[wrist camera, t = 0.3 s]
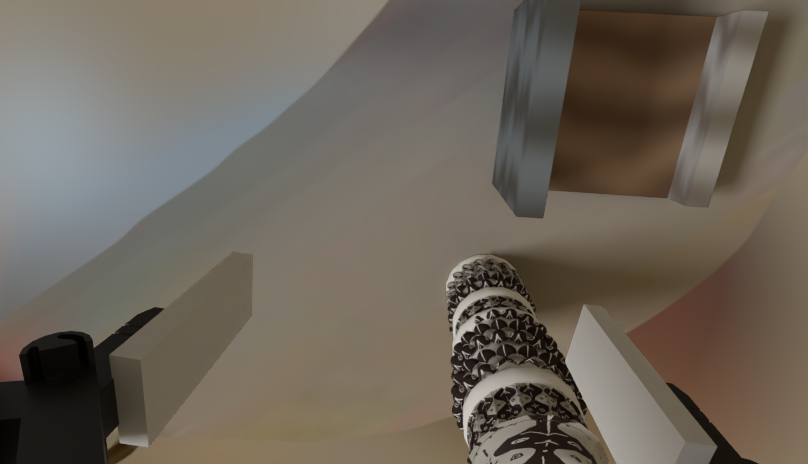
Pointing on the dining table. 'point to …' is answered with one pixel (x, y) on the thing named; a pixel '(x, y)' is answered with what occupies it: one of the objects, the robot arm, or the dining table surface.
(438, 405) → the dining table surface
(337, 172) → the dining table surface
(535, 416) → the decorative candle
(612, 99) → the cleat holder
